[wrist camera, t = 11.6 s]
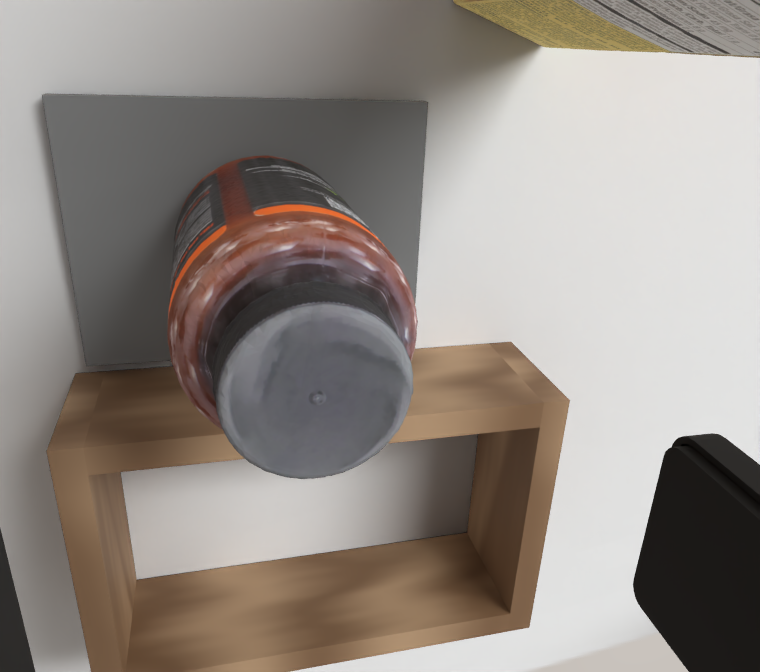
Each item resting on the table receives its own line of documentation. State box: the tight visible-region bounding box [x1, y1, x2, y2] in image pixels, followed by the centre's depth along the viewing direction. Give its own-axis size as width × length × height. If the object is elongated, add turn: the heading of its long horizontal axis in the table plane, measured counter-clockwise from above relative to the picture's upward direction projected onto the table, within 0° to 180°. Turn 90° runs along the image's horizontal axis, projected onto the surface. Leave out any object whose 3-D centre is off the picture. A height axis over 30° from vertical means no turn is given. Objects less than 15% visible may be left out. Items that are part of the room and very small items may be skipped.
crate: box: [47, 342, 570, 672], centre depth 26 cm, size 17×11×5 cm, turn 88°
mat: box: [42, 94, 428, 366], centre depth 23 cm, size 12×9×1 cm
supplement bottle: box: [167, 156, 418, 479], centre depth 18 cm, size 6×6×11 cm
